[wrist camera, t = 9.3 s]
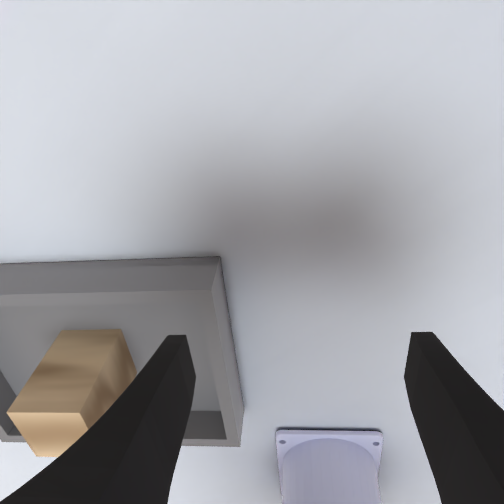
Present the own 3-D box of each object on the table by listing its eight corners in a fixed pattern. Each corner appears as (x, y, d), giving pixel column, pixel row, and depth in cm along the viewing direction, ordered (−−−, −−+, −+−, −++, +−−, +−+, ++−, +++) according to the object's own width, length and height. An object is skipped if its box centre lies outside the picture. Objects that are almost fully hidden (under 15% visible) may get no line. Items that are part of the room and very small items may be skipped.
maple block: (137, 372, 27) (103, 457, 22) (81, 372, 28) (36, 456, 23) (121, 329, 25) (79, 412, 20) (61, 330, 26) (6, 412, 21)
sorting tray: (244, 408, 30) (239, 446, 27) (24, 406, 32) (2, 441, 29) (219, 256, 23) (211, 289, 20) (-63, 266, 25) (-103, 297, 22)
